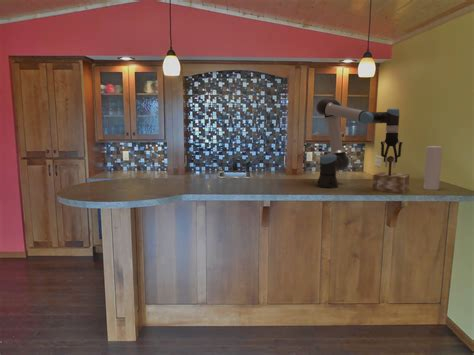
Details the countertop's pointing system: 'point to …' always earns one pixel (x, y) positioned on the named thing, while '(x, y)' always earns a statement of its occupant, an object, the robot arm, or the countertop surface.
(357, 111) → the robot arm
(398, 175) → the wooden lid with knob
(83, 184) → the countertop surface
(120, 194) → the countertop surface
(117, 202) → the countertop surface
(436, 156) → the cylinder container
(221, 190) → the countertop surface
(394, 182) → the brown wooden box
